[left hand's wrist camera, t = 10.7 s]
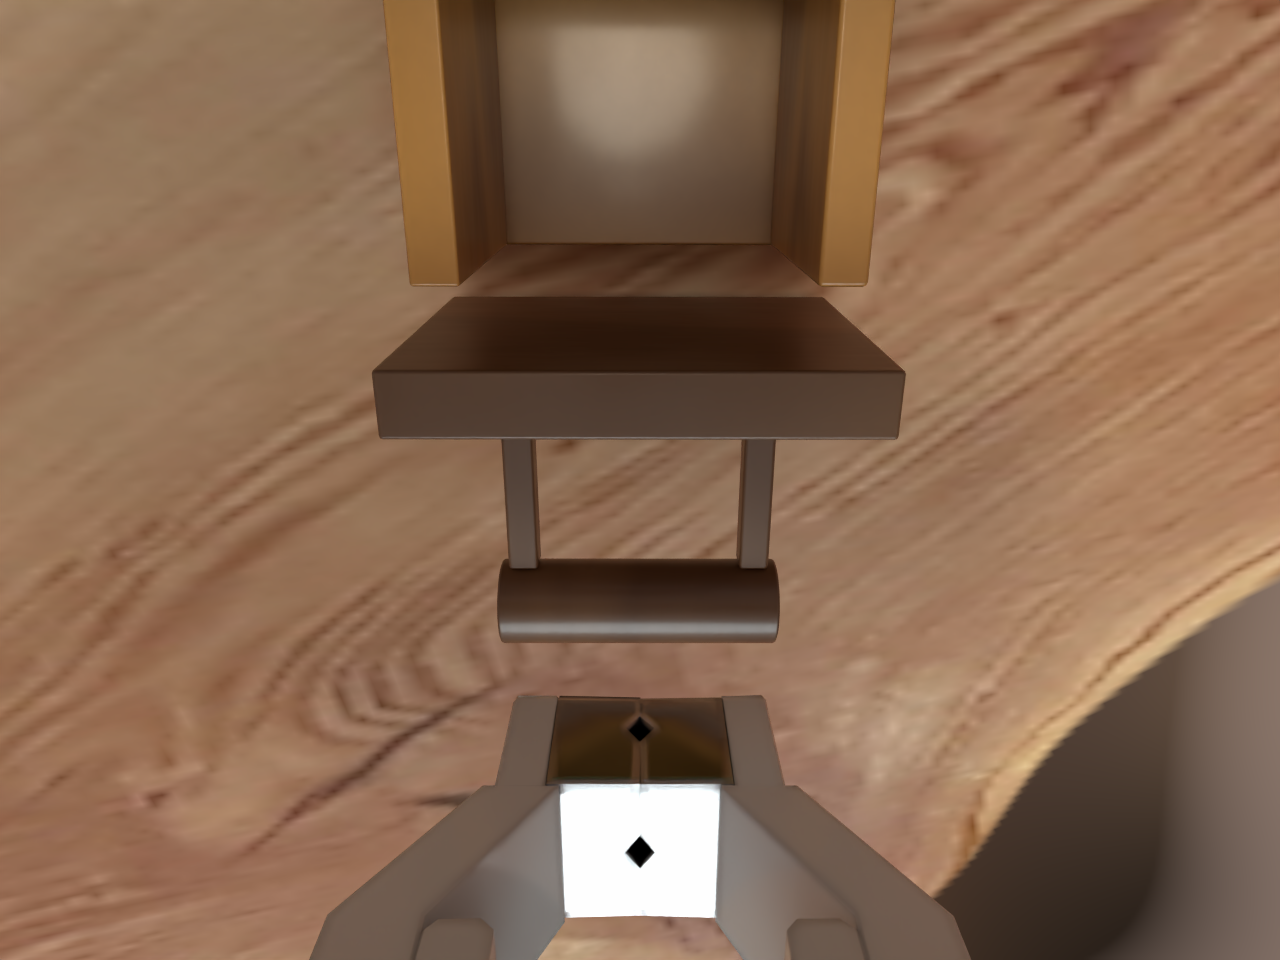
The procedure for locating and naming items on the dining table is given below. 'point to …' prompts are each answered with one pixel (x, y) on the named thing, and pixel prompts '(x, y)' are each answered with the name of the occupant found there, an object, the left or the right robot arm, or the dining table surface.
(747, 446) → the drawer
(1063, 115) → the dining table surface
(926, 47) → the dining table surface
